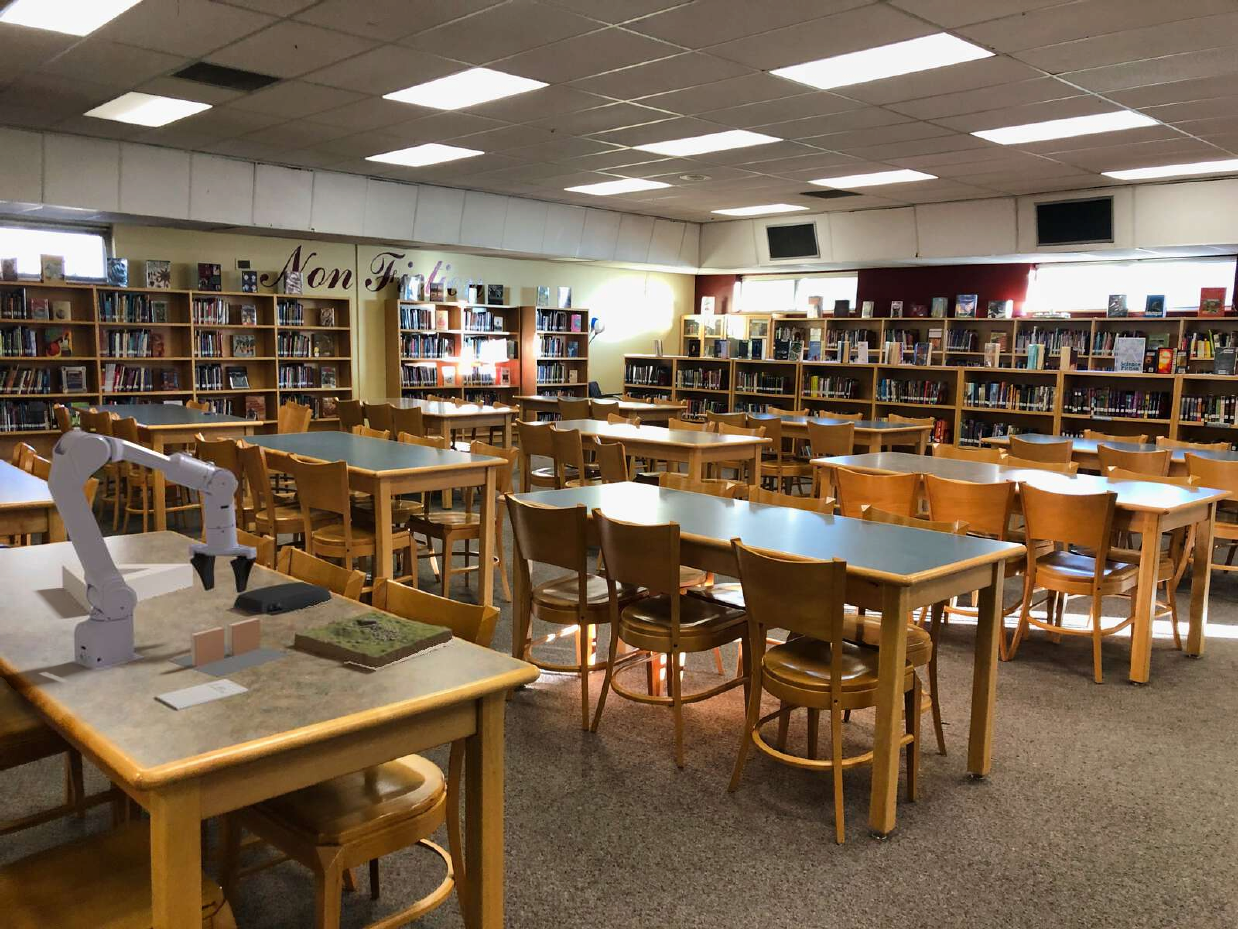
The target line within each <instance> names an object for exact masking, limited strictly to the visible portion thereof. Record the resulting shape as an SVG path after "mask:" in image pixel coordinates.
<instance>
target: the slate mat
mask: <svg viewBox="0 0 1238 929" xmlns="http://www.w3.org/2000/svg"><path fill="white" fill-rule="evenodd" d="M288 656H291V654H289V653H285V652H282V651H280V650H279V651H278V650H276V649H271V648H268V647H264V646H261V645H260V649H257V650H253V651H250V652H246V653H243V654H240V655H236V656H231V655H229V643H228V644H225V659H222V660H219V661H215V662H212V663H209V664H205V665H202V666H198V667H195V666H192V665H191V654H188V655H185V656H181V657H178V658H174V659H169V660H168V662H170V663H173V664H175V665H179V666H181V667H185V668H189V669H191V670H194V671H198V672H201V673H204V674H207V675H209V676H210V675H211V676H214V677H217V678H220V677H223V676H226V675H230V674H233V673H235V672H240V671H243V670H247V669H249V668H253V667H255V666H258V665H262V664H265V663H268V662H272V661H274V660H278V659H282V658H284V657H285V658H286V657H288Z"/></svg>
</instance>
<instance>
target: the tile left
mask: <svg viewBox="0 0 1238 929" xmlns="http://www.w3.org/2000/svg"><path fill="white" fill-rule="evenodd" d="M225 642H226V641H225V628H224V627H221V626H219V627H214V628H210V629H206V630H202V631H199V632H194V633H191V634H190V644H191V645H190V647H191V648H190V650H191V652H190V653H191V654H190V655H191V665H192V666H195V667H198V666H202V665H205V664H209V663H212V662H215V661H219V660H222V659H225V645H226V644H225Z"/></svg>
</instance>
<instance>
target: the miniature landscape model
mask: <svg viewBox="0 0 1238 929" xmlns="http://www.w3.org/2000/svg"><path fill="white" fill-rule="evenodd" d="M451 639H453V629H451V628H448V627H446V626H439V625H436V624H435V625H434V624H433V625H432V624H427V623H425V622H420V621H415V620H409V619H403V618H399V617H396V616H395V617H394V616H390V615H388V614H386V613H380V612H378V611H370V612H367V613H362V614H359V615H355V616H353V617H349V618H346V619H343V620H332V621H329V622H328V623H327V624H322V625H318V626H317V627H313V628H310V629H307V630H303V631H299V632H294V641H293V646H295V647H299V648H303V649H307V650H310V651H312V652H317V653H321V654H324V655H328V656H331V657H334V658H339V659H342V660H345V661H351V662H353V663H357V664H362V665H365V666H369V667H375V668H377V667H382V666H384V665H386V664H390V663H392V662H394V661H398V660H400V659H402V658H404V657H408V656H410V655H412V654H415V653H418V652H419V651H421V650H425V649H427V648H429V647H433V646H436V645H438V644H441V643H446V642H448V641H449V640H451Z"/></svg>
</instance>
